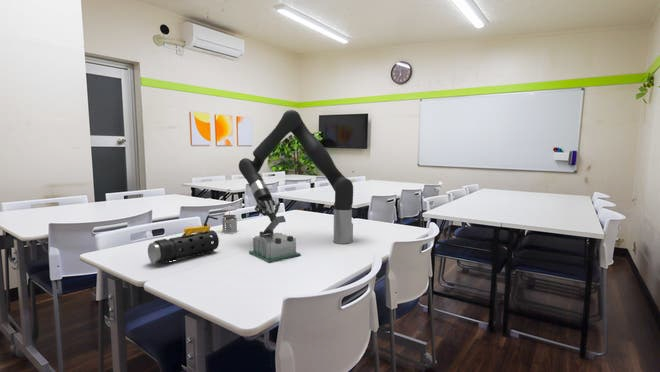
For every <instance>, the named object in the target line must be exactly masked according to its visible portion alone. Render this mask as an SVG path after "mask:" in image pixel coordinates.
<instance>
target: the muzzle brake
mask: <svg viewBox="0 0 660 372" xmlns="http://www.w3.org/2000/svg"><path fill="white" fill-rule="evenodd" d="M219 243H220V239H219V235H218V233H217V232H216V231H215V230H212V229H210V231H206V232H201V233H192V234H191V235H186V236H182V235H181V236H176V237H171V238H169V239H167V238H163V239H157V240H155V241H153V242H151V243H149V244H148V247H147V255H148V256H147V257H148V259H149V261H150V263H151V264H160V265H161V264H164V263H167V262H169V261H173V260H180V259H184V258H191V257H195V256H194V255H197V256H199V255H198V254H201V255H203V254H202V253H205V254H208V253H207V252H209V253H212V252H211V251H213V252H214V251H215V250H217V249H218V248H219V245H220V244H219ZM188 256H189V257H188ZM190 256H191V257H190Z"/></svg>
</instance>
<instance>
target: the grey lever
mask: <svg viewBox="0 0 660 372" xmlns="http://www.w3.org/2000/svg"><path fill="white" fill-rule="evenodd" d="M286 221H287V220H286V218H285V216H284V215H279V216H276V217H275V218H274V220H273V221H272V222H271V221H270V223H269V224H268V226H266V228H265V229H264V230H263V231H262V232H263V235H266V234H271V232H272V231H273V232H274V230H275V229H276V227H277V226H278V225H280V224H281V223H286Z"/></svg>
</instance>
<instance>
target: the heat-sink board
mask: <svg viewBox="0 0 660 372" xmlns="http://www.w3.org/2000/svg"><path fill="white" fill-rule="evenodd" d="M263 232H264V231H259V235H256V236H254V237H252V250H249V251H248V253H249V255H251V256H253V257H256V258H258V259H260V260H262V261H264V262H266V263H268V264H271V263H275V262H279V261H280V262H281V261H285V260H289V259H294V258H298V257H301V256H302V255H301V253H299V252H297V237H294V236H292V235H287V234H283V233H281V232H274V230H273V231H272V232H271V234H265V235H263Z"/></svg>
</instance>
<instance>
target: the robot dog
mask: <svg viewBox="0 0 660 372" xmlns="http://www.w3.org/2000/svg"><path fill="white" fill-rule="evenodd" d="M209 219H213V220H217V221H218V220H219V218H218V217H214V216H210V215H207V216H206V218H205V221H204V223H203V225H199V226H198V225H196V226H189V227H184V229H183V230H184V231H183V234H182V235H181V236H186V235H191V234H196V233H201V232H206V231H211V225H209V224H208V221H209Z"/></svg>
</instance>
